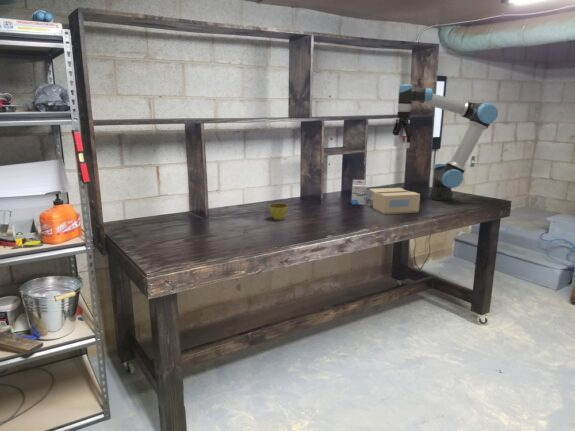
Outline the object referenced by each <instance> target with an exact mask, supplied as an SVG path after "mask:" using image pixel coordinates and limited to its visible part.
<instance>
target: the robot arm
mask: <svg viewBox="0 0 575 431" xmlns="http://www.w3.org/2000/svg"><path fill="white" fill-rule="evenodd" d="M397 102H398V104H397V113H396V114H397V116H396V118H397V119H395V123H394V126H393V130H392V132H391V133H392V134H393V146H394V147H398V146H399V139H400V138H399V137H400V132H401V129H403V130H404V133H405V138H404V139H405V140H404V149H410V143H411V137H413V135H414V134H413V128H412V120H411V119H410V118H411V108H412V102H414V103H415V102H416V103H420V104H423V105H427V106H430V107H434V108H436V109H440V110H444V111H447V112H451V113H454V114H456V115H457V114H458V115H459V116H460V117H462V118H465V119H466V120H467V119H468V123H469V126H468V128H467V130H466V131H465V133H464V135H463V137H462V139H461V141H460V143H459V145H458V146H457V148H456V150H455V152H454V154H453V156H452V157H451V160H449V161H446V163H435V164H434V167H433V175H432V177H433V178H432V184H431V186H432V187H431V188H430V191H429V193H428V199H430V200H433V201H439V202H440V201H441V202H447V201H448V202H450V201H453V199H454V195H453V191H452V189H454V188H457V187H459V186H460V185H461V184H462V183H463V180H464V173H465V171H466V168H465V166H466V164H467V163H468V160H469V158H470V157H471V155H472V152H474V149H475V147H476V145H477V143H478V142H479V140H480V138H481V136H482V135H483V132H484V131H485V130H488V129H489V127H490V126H491V124H492V123H493V122H495V121H496V120H497V118H498V115H499V113H498V112H499V110H498V107H497V106H496V105H494V104H493V103H491V102H470V101H468V100H467V101H461V100H457V99H454V98H452V97H451V98H449V97H446V96H443V95H440V94H436V93H434V91H433V89H432V88H429V87H425V88H424V87H423V88H422V87H420V88H419V87H418V88H417V87H413V84H406V83H405V84H400V85H399V89H398V100H397Z"/></svg>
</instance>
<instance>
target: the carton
mask: <svg viewBox="0 0 575 431" xmlns="http://www.w3.org/2000/svg"><path fill="white" fill-rule="evenodd" d="M372 197H373V196H372ZM420 202H421V194H420V193H419V192H415V191H410V190H406V191H386V192H374V197H373V201H372V209H373V210H374V211H376V212H377V213H380V214H382V215H397V214H399V215H400V214H401V215H402V214H415V213H419V211H420Z"/></svg>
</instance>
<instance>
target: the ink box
mask: <svg viewBox="0 0 575 431" xmlns="http://www.w3.org/2000/svg"><path fill="white" fill-rule="evenodd" d="M367 187H368V186H367V180H366V179H352V185H351V200H350V203H351V205H357V206H359V205H361V206H365V205H366V203H367V201H366V200H367V199H366V198H367Z"/></svg>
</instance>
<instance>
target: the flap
mask: <svg viewBox="0 0 575 431" xmlns="http://www.w3.org/2000/svg"><path fill="white" fill-rule="evenodd" d="M369 191H370V192H372V197H370V201H371V202H373V197H374V192H386V191H407V190H406V189H404V188H403V187H385V188H383V187H380V188H369Z"/></svg>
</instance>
